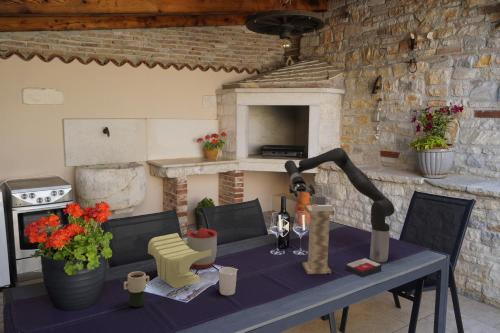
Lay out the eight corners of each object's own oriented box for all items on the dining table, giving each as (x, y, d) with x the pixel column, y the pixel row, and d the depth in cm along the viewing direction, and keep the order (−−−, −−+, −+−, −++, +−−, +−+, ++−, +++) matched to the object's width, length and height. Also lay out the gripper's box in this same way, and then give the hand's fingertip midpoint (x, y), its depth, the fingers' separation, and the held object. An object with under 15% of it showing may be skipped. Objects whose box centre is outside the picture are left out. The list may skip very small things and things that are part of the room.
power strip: (331, 209, 202) (331, 203, 201) (332, 211, 199) (333, 204, 199) (311, 209, 200) (311, 203, 200) (312, 211, 198) (313, 204, 197)
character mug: (145, 298, 172) (145, 268, 171) (153, 304, 167) (153, 274, 165) (120, 305, 165) (120, 274, 164) (128, 312, 160) (127, 280, 158)
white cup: (229, 297, 175) (230, 275, 173) (214, 293, 179) (215, 271, 177) (239, 291, 181) (240, 269, 180) (225, 286, 185) (225, 265, 184)
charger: (316, 201, 218) (316, 190, 218) (325, 209, 203) (325, 197, 202) (307, 201, 218) (307, 190, 217) (315, 209, 202) (316, 197, 201)
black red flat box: (345, 263, 208) (364, 256, 217) (345, 271, 209) (364, 264, 217) (362, 270, 199) (382, 263, 208) (361, 279, 200) (381, 271, 208)
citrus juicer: (207, 256, 223) (208, 220, 220) (222, 267, 208) (222, 229, 205) (180, 261, 215) (180, 224, 212) (193, 272, 200) (194, 233, 197)
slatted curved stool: (148, 274, 197) (148, 238, 195) (177, 266, 207) (177, 232, 205) (179, 296, 174) (179, 256, 172) (210, 287, 185) (211, 249, 182)
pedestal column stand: (324, 264, 215) (327, 205, 211) (331, 273, 204) (334, 211, 199) (301, 264, 214) (304, 205, 210) (307, 274, 202) (310, 211, 198)
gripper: (308, 186, 248) (315, 201, 234) (285, 186, 246) (291, 201, 231) (309, 175, 244) (317, 189, 230) (286, 176, 242) (292, 190, 228)
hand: (304, 195), depth 231 cm, fingers open, 8 cm apart
